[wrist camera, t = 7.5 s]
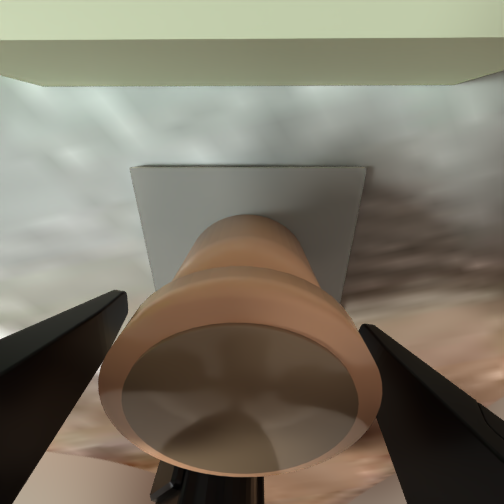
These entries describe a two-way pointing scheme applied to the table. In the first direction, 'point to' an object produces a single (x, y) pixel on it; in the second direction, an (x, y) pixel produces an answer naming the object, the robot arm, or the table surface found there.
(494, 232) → the table surface
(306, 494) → the table surface
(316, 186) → the slate pad
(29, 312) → the table surface
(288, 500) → the table surface
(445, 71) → the pale green square tray
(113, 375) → the terracotta pot
